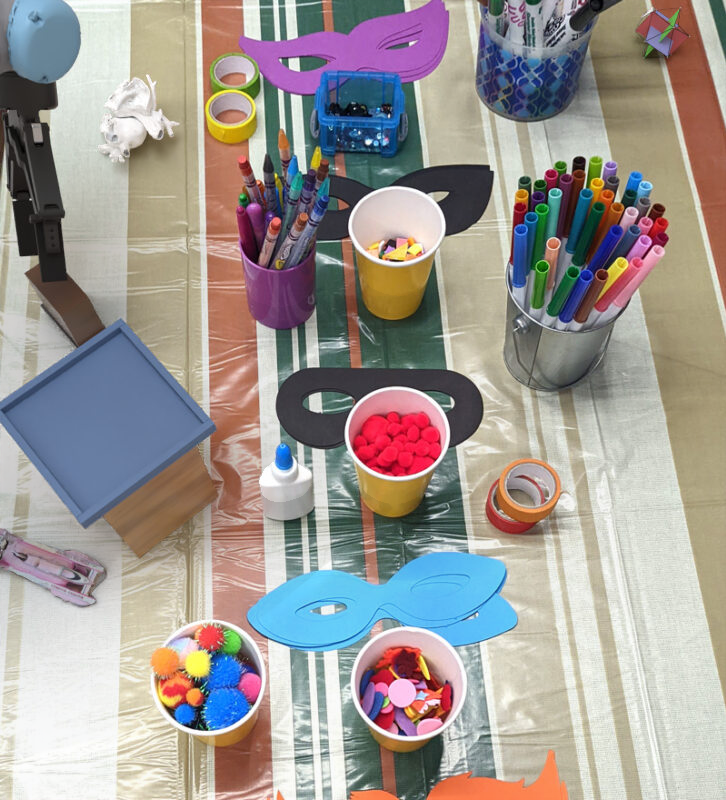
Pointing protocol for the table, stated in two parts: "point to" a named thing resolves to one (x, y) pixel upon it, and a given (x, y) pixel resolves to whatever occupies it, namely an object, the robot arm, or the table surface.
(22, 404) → the tray
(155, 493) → the wooden block
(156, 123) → the heart
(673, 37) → the geometric puzzle
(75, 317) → the brown angled block
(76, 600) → the pink toy racer
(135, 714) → the table surface
